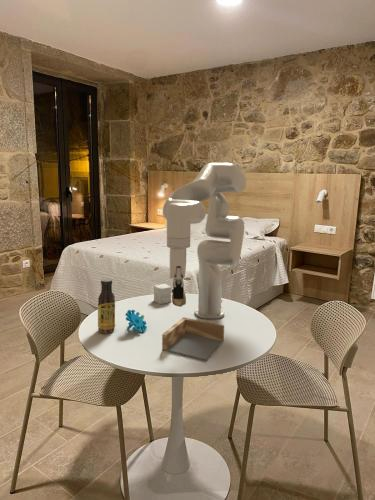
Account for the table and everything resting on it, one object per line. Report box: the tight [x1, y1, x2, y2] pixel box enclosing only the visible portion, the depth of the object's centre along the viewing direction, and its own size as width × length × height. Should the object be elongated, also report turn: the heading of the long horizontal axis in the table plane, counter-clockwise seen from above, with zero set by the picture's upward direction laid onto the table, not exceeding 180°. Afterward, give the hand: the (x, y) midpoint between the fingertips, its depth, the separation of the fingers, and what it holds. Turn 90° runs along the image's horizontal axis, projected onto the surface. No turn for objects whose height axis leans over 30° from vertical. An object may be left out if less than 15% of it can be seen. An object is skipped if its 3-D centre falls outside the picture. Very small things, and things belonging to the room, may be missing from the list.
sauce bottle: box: [97, 278, 116, 334], centre depth 136 cm, size 6×6×20 cm
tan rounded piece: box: [171, 276, 187, 308], centre depth 121 cm, size 6×8×10 cm
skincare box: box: [153, 283, 172, 305], centre depth 169 cm, size 6×6×7 cm
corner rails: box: [161, 316, 225, 352], centre depth 127 cm, size 16×16×6 cm
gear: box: [125, 309, 148, 333], centre depth 140 cm, size 11×6×10 cm
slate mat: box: [163, 333, 224, 362], centre depth 128 cm, size 16×16×1 cm
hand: (178, 293), depth 122 cm, fingers closed on tan rounded piece, 7 cm apart
